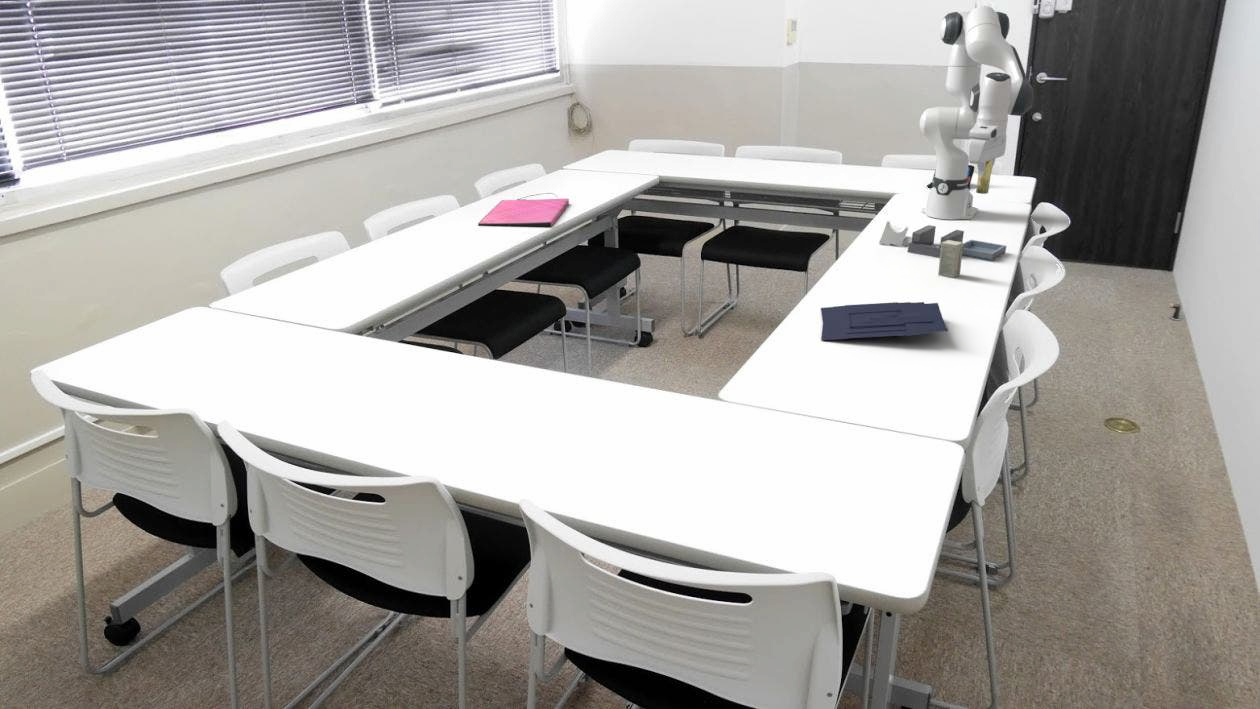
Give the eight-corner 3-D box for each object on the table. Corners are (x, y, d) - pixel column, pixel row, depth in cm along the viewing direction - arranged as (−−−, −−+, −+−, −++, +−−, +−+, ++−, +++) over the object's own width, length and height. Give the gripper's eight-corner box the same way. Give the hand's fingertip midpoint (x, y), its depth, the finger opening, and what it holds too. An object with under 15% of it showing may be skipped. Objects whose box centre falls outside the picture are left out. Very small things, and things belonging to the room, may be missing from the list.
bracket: (899, 249, 303) (908, 228, 300) (879, 242, 304) (887, 221, 301) (902, 239, 314) (910, 218, 311) (882, 232, 316) (890, 212, 312)
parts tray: (969, 247, 301) (970, 239, 300) (1005, 253, 294) (1006, 245, 293) (955, 254, 293) (956, 247, 292) (991, 261, 286) (992, 253, 285)
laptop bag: (550, 218, 328) (477, 218, 332) (551, 229, 330) (478, 229, 333) (570, 192, 365) (504, 192, 368) (571, 202, 366) (505, 202, 370)
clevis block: (926, 242, 306) (928, 225, 304) (961, 248, 299) (963, 231, 296) (907, 252, 296) (909, 234, 294) (943, 258, 289) (945, 240, 287)
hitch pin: (978, 190, 288) (984, 152, 284) (990, 192, 286) (995, 153, 282) (974, 192, 286) (979, 153, 281) (985, 194, 284) (990, 155, 279)
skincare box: (960, 275, 273) (964, 242, 270) (953, 278, 271) (957, 245, 267) (944, 271, 277) (948, 239, 273) (937, 274, 274) (941, 242, 270)
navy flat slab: (948, 344, 220) (948, 330, 219) (821, 350, 227) (820, 337, 226) (936, 310, 242) (936, 297, 241) (821, 316, 249) (820, 304, 248)
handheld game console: (925, 189, 381) (928, 167, 377) (934, 183, 391) (937, 161, 388) (964, 193, 373) (966, 170, 370) (972, 187, 383) (975, 165, 380)
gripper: (994, 124, 288) (987, 168, 293) (967, 132, 274) (961, 178, 279) (1014, 125, 284) (1007, 170, 289) (988, 134, 270) (981, 180, 275)
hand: (984, 174), depth 284 cm, fingers closed on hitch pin, 4 cm apart
